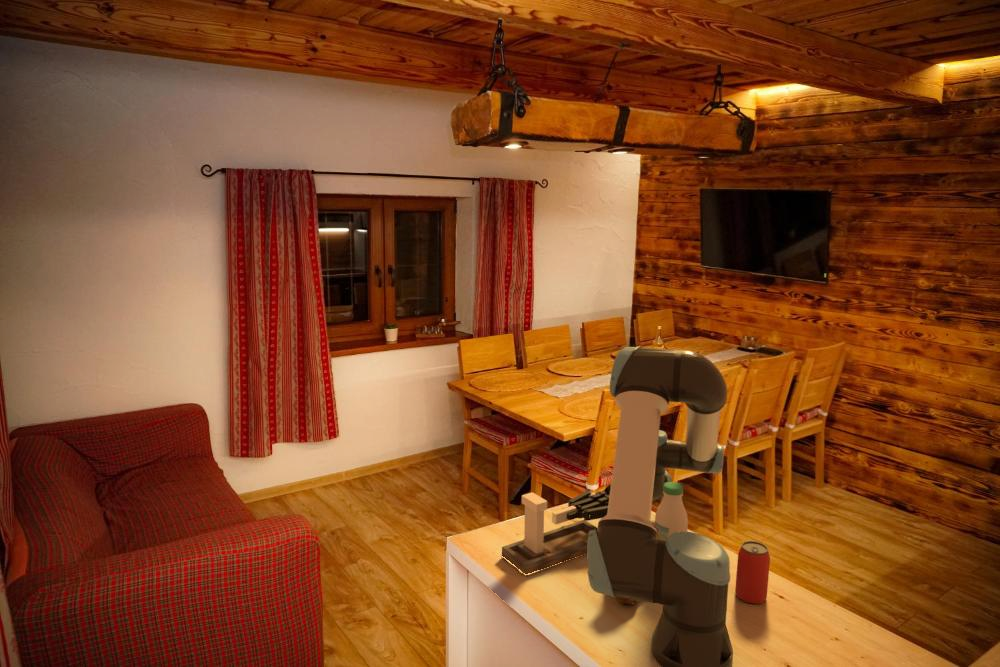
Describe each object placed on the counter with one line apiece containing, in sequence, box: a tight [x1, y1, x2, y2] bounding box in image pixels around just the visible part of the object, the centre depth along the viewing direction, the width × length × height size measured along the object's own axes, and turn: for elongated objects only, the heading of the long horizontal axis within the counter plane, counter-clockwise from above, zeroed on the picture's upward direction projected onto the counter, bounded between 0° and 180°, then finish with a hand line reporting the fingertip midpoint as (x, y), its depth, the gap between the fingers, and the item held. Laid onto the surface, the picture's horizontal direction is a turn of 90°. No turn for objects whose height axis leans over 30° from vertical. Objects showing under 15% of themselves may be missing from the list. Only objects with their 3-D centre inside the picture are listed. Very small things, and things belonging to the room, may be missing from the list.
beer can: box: [734, 540, 771, 605], centre depth 151 cm, size 7×7×12 cm
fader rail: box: [501, 519, 598, 574], centre depth 170 cm, size 26×10×3 cm, turn 124°
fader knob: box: [517, 492, 550, 560], centre depth 165 cm, size 5×7×14 cm
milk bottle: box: [654, 481, 689, 541], centre depth 164 cm, size 8×8×20 cm
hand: (554, 518), depth 168 cm, fingers closed
